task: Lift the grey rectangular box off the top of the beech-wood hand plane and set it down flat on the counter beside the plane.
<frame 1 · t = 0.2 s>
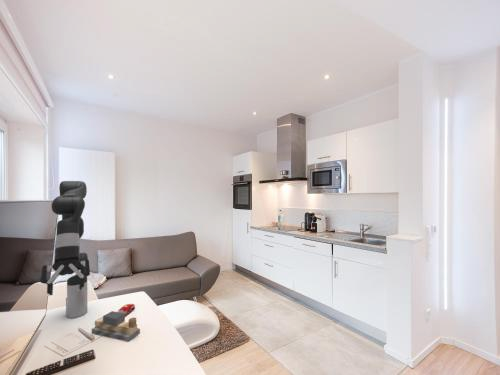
hand: (66, 292, 87), 31 cm above the table, tool tilted 20°, fingers open, 8 cm apart
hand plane: (115, 333, 116), on the table
grey rectangular box: (114, 322, 116), point 5 cm above the table, touching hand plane
race car: (124, 314, 134), on the table
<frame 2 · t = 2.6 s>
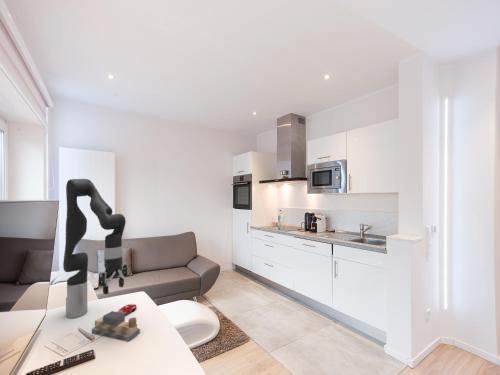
hand: (113, 290, 116), 20 cm above the table, tool pointing down, fingers open, 8 cm apart
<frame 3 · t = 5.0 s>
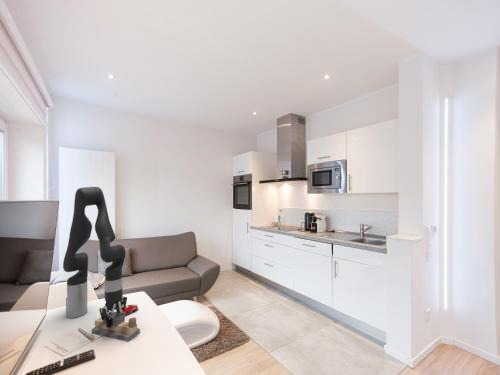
hand: (114, 323, 116), 4 cm above the table, tool pointing down, fingers closed on grey rectangular box, 5 cm apart
grey rectangular box: (114, 322, 116), point 5 cm above the table, touching gripper, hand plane
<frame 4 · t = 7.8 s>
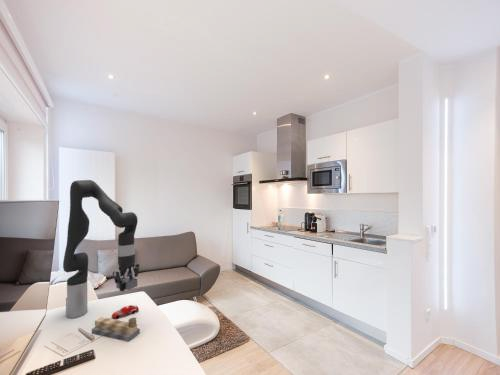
hand: (127, 288, 118), 20 cm above the table, tool pointing down, fingers closed on grey rectangular box, 5 cm apart
grey rectangular box: (127, 287, 118), point 21 cm above the table, touching gripper
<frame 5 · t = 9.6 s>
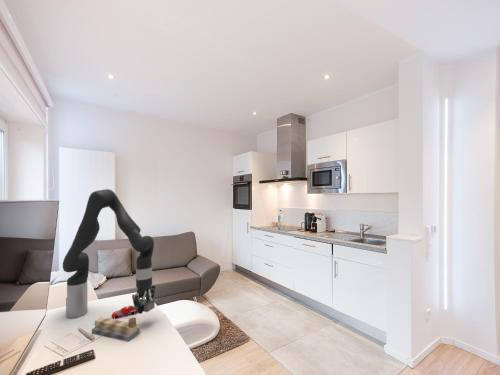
hand: (144, 310, 123), 7 cm above the table, tool pointing down, fingers closed on grey rectangular box, 5 cm apart
grey rectangular box: (144, 308, 123), point 8 cm above the table, touching gripper
when the fingers open (1 cm above the table, at t = 11.1 s): grey rectangular box drops 2 cm, on the table.
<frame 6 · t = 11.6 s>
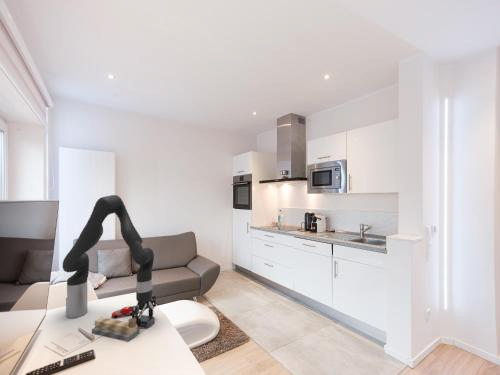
hand: (144, 321, 123), 2 cm above the table, tool pointing down, fingers open, 8 cm apart
grey rectangular box: (144, 325, 123), on the table
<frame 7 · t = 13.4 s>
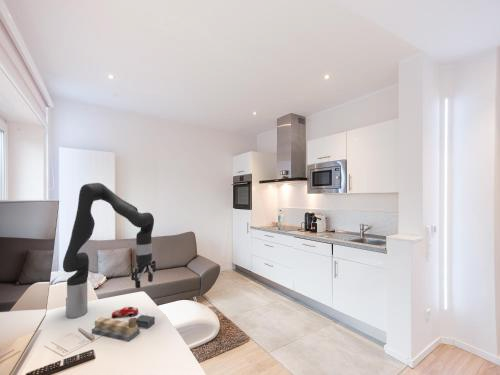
hand: (144, 284, 123), 20 cm above the table, tool pointing down, fingers open, 8 cm apart
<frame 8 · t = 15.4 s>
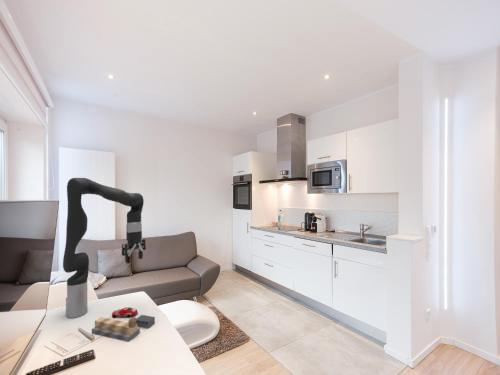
hand: (134, 260, 130), 30 cm above the table, tool pointing down, fingers open, 8 cm apart
at the end: grey rectangular box inside the target area (0.0 cm from its centre), on the table; grey rectangular box tilted 0°; grey rectangular box touching table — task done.
